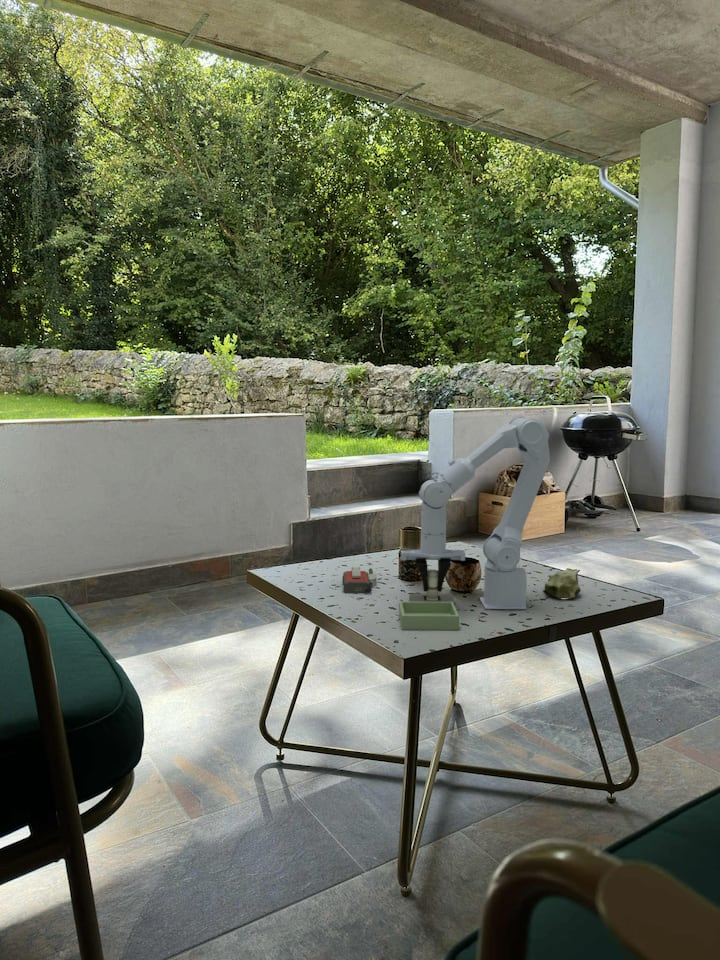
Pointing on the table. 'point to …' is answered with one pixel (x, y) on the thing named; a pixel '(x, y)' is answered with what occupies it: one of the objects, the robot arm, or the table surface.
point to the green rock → (563, 584)
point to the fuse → (432, 585)
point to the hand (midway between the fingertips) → (432, 590)
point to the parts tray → (428, 616)
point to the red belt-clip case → (358, 581)
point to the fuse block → (423, 599)
